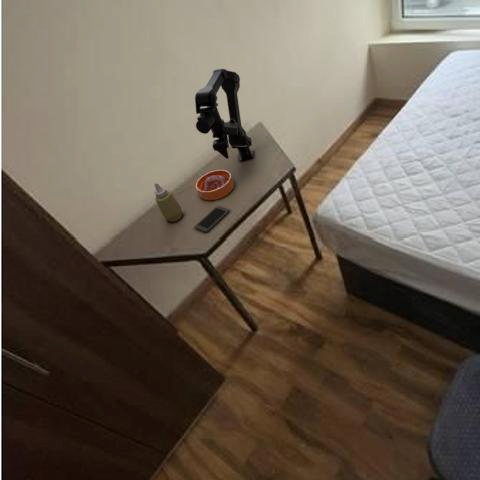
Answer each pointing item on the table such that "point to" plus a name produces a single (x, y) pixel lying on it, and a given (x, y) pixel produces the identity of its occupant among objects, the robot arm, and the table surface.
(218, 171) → the orange mixing bowl
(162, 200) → the squeeze bottle
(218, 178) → the video game controller
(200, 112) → the robot arm
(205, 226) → the cell phone
